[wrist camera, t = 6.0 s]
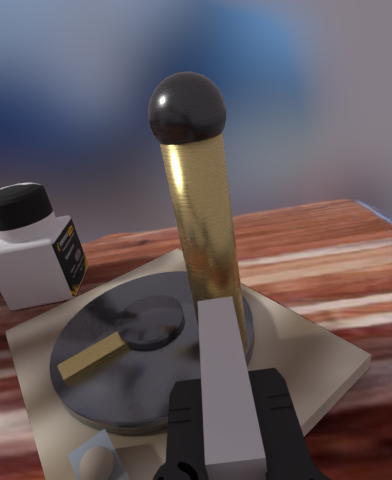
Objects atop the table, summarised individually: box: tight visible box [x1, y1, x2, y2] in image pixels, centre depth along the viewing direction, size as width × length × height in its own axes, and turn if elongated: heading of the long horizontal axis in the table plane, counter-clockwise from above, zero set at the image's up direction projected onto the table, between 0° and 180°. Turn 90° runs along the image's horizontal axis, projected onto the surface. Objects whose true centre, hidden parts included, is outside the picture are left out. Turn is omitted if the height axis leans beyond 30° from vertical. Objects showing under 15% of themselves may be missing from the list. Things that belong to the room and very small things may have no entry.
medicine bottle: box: [0, 183, 88, 311], centre depth 35 cm, size 7×7×12 cm
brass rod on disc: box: [49, 72, 255, 435], centre depth 21 cm, size 15×15×18 cm
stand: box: [5, 249, 371, 480], centre depth 25 cm, size 23×19×4 cm
